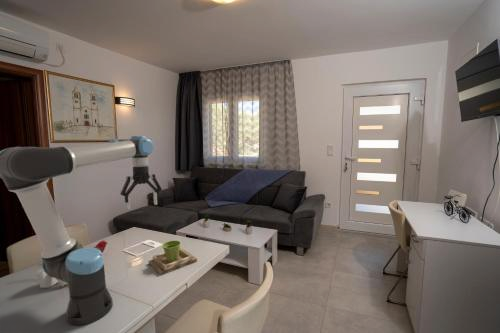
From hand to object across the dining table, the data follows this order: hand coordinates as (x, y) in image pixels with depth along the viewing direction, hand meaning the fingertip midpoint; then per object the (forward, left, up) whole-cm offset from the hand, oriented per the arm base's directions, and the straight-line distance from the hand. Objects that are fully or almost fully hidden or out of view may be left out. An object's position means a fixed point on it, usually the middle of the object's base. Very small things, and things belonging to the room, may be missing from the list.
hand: (142, 206), depth 133 cm
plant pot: (+10, -11, -29) cm, 32 cm away
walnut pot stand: (+10, -11, -30) cm, 34 cm away
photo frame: (+5, +20, -31) cm, 37 cm away
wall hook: (-38, +6, -31) cm, 49 cm away
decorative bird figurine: (-22, +22, -31) cm, 44 cm away
